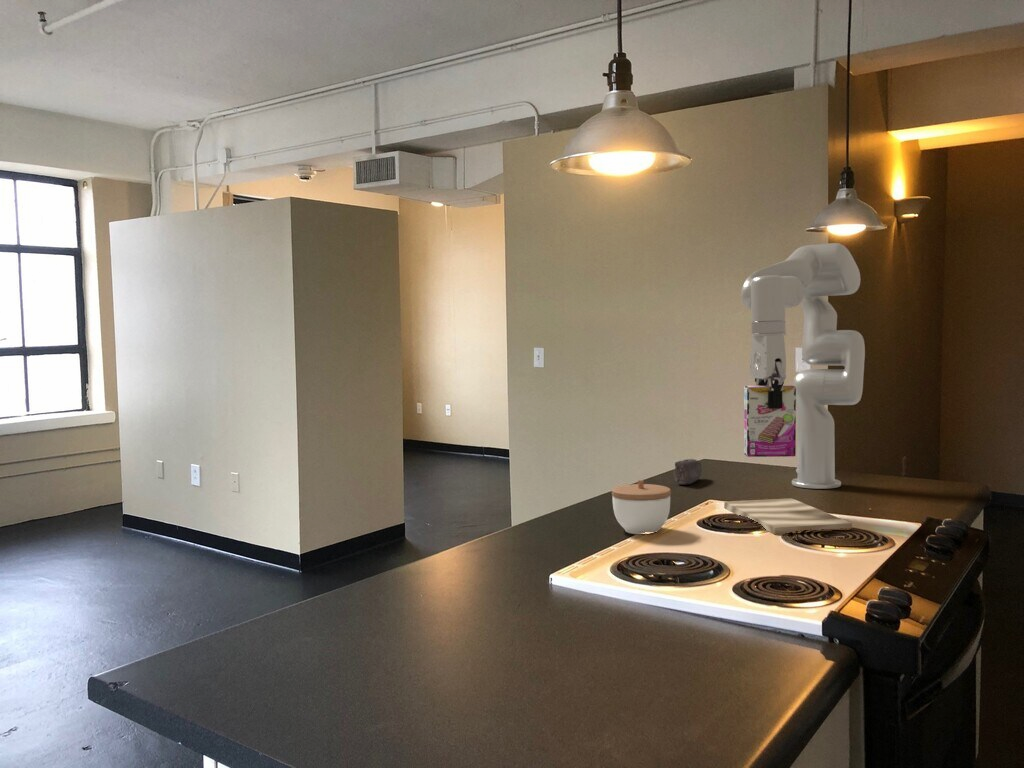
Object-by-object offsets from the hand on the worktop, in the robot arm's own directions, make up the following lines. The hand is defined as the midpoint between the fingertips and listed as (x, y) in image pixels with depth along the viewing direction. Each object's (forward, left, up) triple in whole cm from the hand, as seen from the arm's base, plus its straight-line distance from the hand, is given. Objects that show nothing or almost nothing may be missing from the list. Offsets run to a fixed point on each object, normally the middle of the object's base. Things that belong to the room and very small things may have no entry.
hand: (769, 406), depth 192 cm
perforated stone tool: (-42, -5, -25) cm, 50 cm away
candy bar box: (0, 0, -12) cm, 12 cm away
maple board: (+7, 0, -25) cm, 26 cm away
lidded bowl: (+11, -34, -25) cm, 44 cm away
